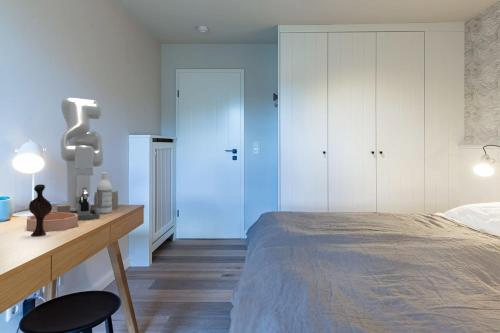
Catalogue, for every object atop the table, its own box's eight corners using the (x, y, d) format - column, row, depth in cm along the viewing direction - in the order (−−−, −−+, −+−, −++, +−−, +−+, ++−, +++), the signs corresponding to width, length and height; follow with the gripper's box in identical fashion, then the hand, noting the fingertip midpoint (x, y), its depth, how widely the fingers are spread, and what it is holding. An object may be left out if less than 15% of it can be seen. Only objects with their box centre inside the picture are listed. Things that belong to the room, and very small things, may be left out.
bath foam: (97, 211, 164) (98, 171, 163) (112, 210, 166) (113, 172, 165) (95, 213, 157) (96, 172, 156) (110, 213, 159) (111, 172, 159)
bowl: (28, 224, 131) (28, 214, 131) (75, 220, 140) (75, 211, 140) (25, 233, 117) (25, 222, 117) (78, 228, 126) (78, 218, 126)
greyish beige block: (56, 218, 145) (56, 204, 145) (69, 217, 148) (69, 204, 147) (56, 219, 141) (57, 206, 141) (70, 218, 144) (70, 205, 144)
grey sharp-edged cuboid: (76, 216, 149) (77, 203, 149) (88, 215, 152) (89, 203, 152) (77, 218, 145) (77, 205, 145) (89, 217, 148) (90, 204, 148)
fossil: (97, 211, 163) (97, 192, 163) (93, 210, 165) (93, 192, 165) (118, 208, 173) (118, 190, 173) (114, 207, 175) (114, 190, 175)
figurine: (54, 232, 119) (54, 184, 118) (48, 236, 114) (49, 185, 113) (31, 233, 117) (32, 183, 117) (25, 236, 112) (25, 185, 112)
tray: (48, 216, 148) (48, 212, 147) (95, 213, 158) (95, 209, 158) (47, 222, 135) (48, 217, 135) (99, 218, 145) (99, 214, 145)
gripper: (73, 172, 153) (73, 208, 153) (75, 173, 138) (75, 213, 138) (91, 172, 157) (90, 207, 157) (95, 173, 142) (94, 211, 142)
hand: (83, 209), depth 148 cm, fingers open, 9 cm apart
